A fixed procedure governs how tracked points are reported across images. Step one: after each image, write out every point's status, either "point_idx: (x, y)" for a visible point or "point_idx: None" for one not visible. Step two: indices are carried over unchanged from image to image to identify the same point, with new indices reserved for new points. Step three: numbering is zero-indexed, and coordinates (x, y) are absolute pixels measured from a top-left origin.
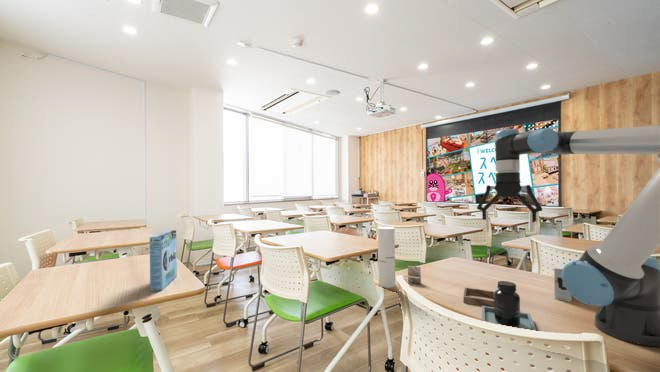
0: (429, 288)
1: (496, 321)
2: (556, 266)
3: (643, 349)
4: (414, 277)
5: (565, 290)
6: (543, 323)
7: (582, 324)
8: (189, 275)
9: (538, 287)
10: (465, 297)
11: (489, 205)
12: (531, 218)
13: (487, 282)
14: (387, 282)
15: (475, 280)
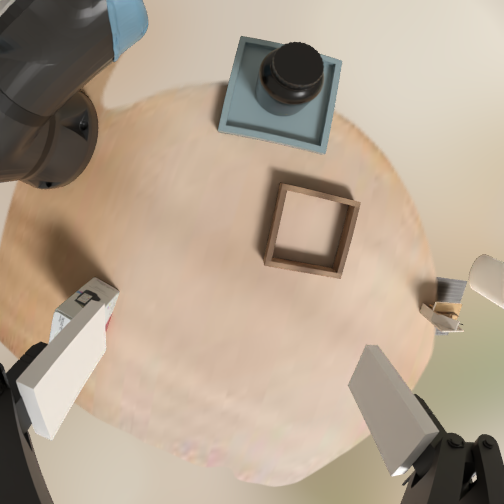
0: (411, 278)
1: None
2: None
3: None
4: (444, 302)
5: (90, 290)
6: (196, 118)
7: (116, 143)
8: None
9: (138, 359)
10: (355, 201)
11: (440, 485)
12: (48, 350)
13: (253, 368)
14: (489, 258)
15: (281, 374)
